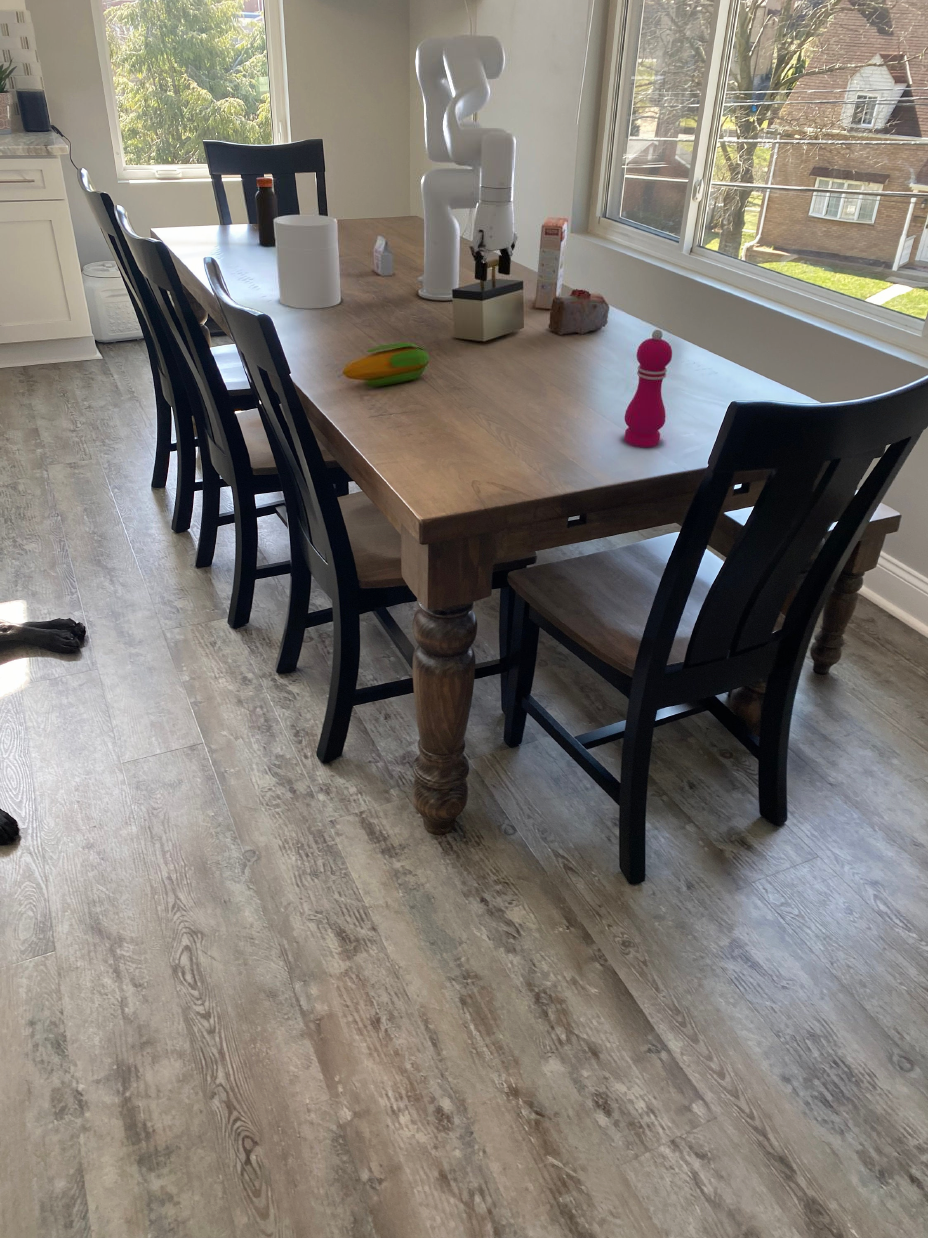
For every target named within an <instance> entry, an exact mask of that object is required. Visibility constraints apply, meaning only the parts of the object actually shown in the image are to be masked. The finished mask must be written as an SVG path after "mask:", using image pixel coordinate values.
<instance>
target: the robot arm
mask: <svg viewBox="0 0 928 1238" xmlns="http://www.w3.org/2000/svg"><path fill="white" fill-rule="evenodd" d="M505 66H506V53H505V48H504V46H503V44H502V42H501V41H500V39H499V38H497V37H496V36H493V35H476V34H459V35H454V36H452V37H450V36H448V37H447V36H436V37H434V36H433V37H429V38H425V39H423V40H422V41H420V43H419V44H418V46H417V48H416V52H415V70H416V76H417V80H418V84H419V87H420V89H421V94H422V98H423V108H424V109H423V111H424V114H423V115H424V138H425V139H424V141H425V152H426V154H427V157H428V159H429V160H430V161H432V162H435V163H445V164H446V163H449V164H450V163H452V164H453V163H454V164H455V165H457V166H460V167H467V168H457V167H455V168H454V167H453V168H451V167H450V168H447V167H446V168H445V167H444V168H443V167H442V168H435V169H431V170H428V171H426V172H425V173H424V174H423V176H422V178H421V182H420V191H421V198H422V206H423V220H424V223H423V224H424V225H423V226H424V230H423V231H424V246H423V247H424V249H423V252H424V255H423V266H424V268H423V273H422V274H421V276H418V278H417V281H418V283H421V284H422V287H421V288H420V289H418V296H419V297H420V298H423V299H426V300H430V301H453V300H452V289H455V288H459V287H460V284H459V283H460V279H459V278H460V251H461V250H460V245H461V241H460V240H461V228H460V223H459V221H458V220H457V219H456V217H455V216H454V214H453V213H452V210H459V209H460V210H461V209H462V210H463V209H465V210H467V209H468V210H469V209H475V212H474V218H473V219H474V220H473V230H472V240H471V241H470V242H469V244H468V247H469V250H470V252H471V256H472V258H473V262H474V279H475V280H477V281H480V280H481V281H486V280H488V269H489V268H488V263H486V261H488V257H489V254H490V253H491V252H496V251H499V253H500V254H499V255H498V261H499V265H498V266H497V273H498V274H500V275H505V276H510V275H511V265H512V263H511V262H512V257H513V255H514V252H513V251H514V250H515V248H516V243H517V240H518V238H519V235H518V234H517V233H516V231H515V215H514V212H515V211H514V185H515V166H516V150H517V149H516V147H517V139H516V137H515V135H514V134H513V133H510V132H508V131H506V129H504V128H497V127H484V126H483V125H482V123H480V122H479V121H476V120H464V119H466V118H468V117H470V116H472V115H474V114H476V113H478V112H479V111H480V110H482V109H483V108H485V106H486V105H487V104H488V103H489V100H490V97H491V88H490V84H489V82H488V80H495V79H498V78H500V77H501V75H502V74H503V72H504V71H505ZM447 80H448V81H447Z"/></svg>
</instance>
